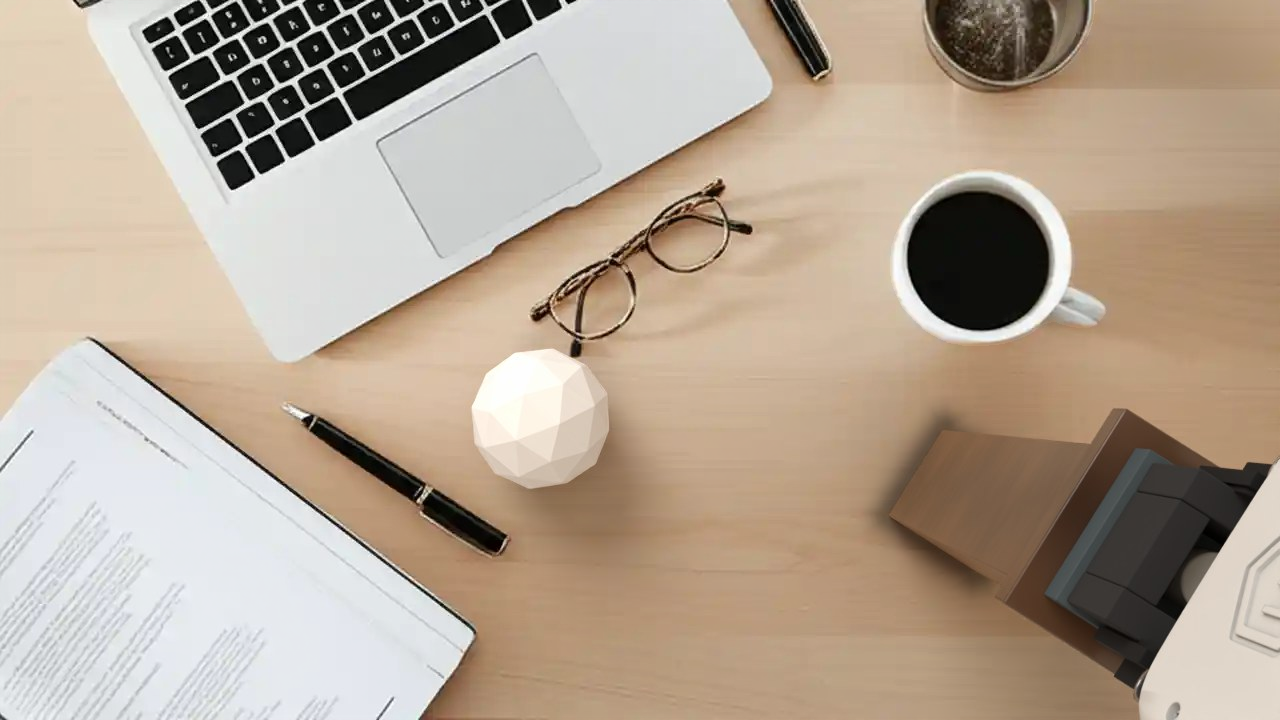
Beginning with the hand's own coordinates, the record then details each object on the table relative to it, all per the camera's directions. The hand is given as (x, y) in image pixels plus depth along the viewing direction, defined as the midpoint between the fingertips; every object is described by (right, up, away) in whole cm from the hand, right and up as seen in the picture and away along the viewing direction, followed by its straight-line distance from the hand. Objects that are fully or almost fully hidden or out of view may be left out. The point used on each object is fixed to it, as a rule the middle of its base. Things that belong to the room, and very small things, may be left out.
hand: (1186, 577), depth 38 cm
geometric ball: (-23, +4, +31) cm, 39 cm away
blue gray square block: (0, 0, +2) cm, 2 cm away
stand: (+1, -1, +30) cm, 30 cm away
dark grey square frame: (0, 0, 0) cm, 0 cm away
